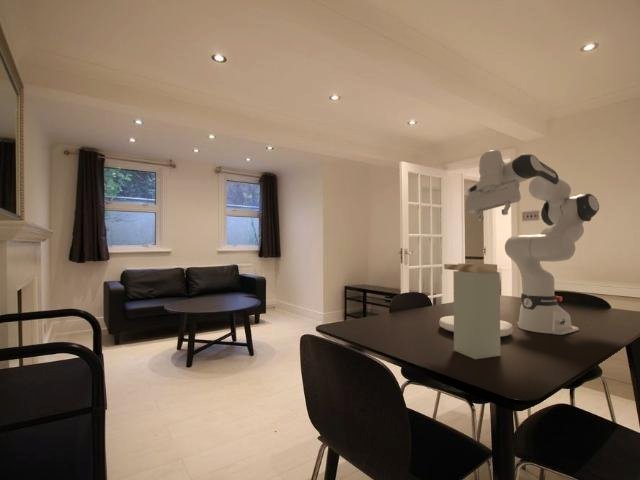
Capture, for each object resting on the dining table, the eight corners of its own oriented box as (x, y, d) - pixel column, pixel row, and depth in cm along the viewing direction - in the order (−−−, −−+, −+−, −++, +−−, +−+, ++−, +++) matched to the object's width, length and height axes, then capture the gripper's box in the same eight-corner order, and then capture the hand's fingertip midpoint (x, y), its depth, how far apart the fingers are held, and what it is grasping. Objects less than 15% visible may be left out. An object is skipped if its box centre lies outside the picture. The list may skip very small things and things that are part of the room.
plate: (434, 312, 148) (499, 315, 142) (434, 327, 147) (499, 330, 142) (445, 319, 120) (525, 322, 115) (445, 337, 120) (526, 341, 114)
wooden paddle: (439, 269, 118) (439, 262, 118) (455, 268, 120) (455, 261, 120) (479, 273, 100) (479, 265, 100) (497, 272, 102) (497, 264, 102)
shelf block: (478, 347, 111) (477, 270, 112) (500, 355, 103) (499, 272, 103) (454, 350, 108) (453, 271, 109) (475, 359, 100) (474, 273, 100)
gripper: (522, 181, 127) (524, 213, 122) (472, 196, 143) (472, 225, 138) (514, 174, 123) (516, 207, 119) (463, 190, 139) (463, 220, 135)
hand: (492, 217), depth 128 cm, fingers open, 8 cm apart
